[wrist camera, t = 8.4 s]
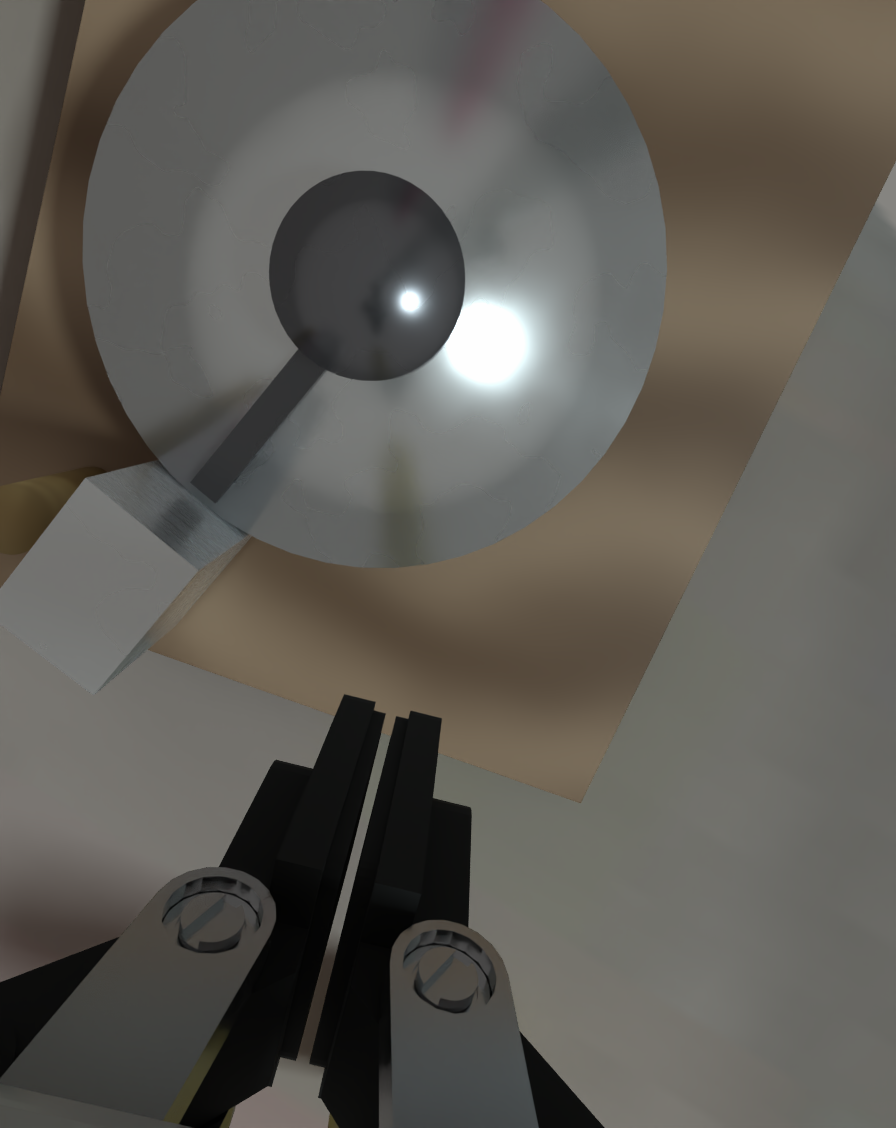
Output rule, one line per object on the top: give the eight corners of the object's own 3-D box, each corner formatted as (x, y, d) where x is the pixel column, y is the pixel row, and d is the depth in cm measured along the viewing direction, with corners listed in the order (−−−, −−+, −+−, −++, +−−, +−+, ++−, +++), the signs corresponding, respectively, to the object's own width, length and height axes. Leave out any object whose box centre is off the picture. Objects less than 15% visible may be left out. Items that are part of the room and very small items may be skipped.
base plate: (200, -347, 17) (77, -693, 11) (947, 0, 18) (1151, -160, 13) (-8, 569, 22) (-155, 628, 17) (573, 777, 24) (606, 891, 18)
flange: (347, -172, 16) (300, -401, 11) (764, 272, 18) (869, 234, 13) (-72, 428, 19) (-239, 443, 15) (319, 740, 22) (280, 838, 17)
